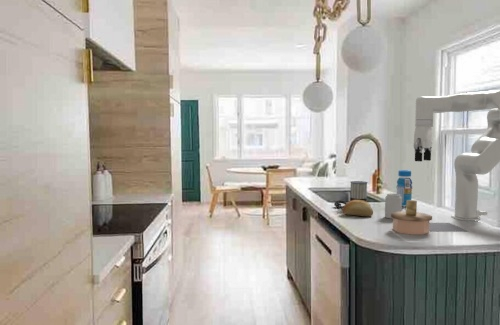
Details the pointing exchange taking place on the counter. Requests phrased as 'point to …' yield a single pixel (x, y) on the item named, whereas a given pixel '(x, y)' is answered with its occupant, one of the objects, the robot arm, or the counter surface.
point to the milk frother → (355, 192)
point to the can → (392, 204)
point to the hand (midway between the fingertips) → (422, 160)
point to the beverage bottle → (404, 186)
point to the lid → (411, 213)
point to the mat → (445, 227)
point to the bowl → (410, 226)
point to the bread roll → (357, 208)
